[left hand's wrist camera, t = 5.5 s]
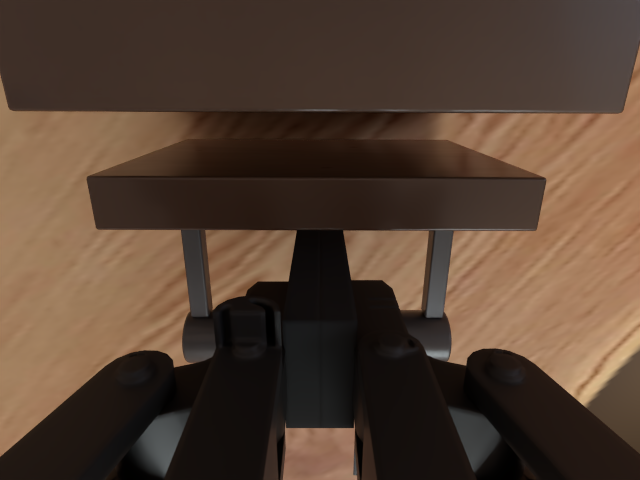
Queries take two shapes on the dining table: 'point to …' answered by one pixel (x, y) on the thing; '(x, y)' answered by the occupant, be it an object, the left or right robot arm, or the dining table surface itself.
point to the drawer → (316, 205)
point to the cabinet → (319, 55)
